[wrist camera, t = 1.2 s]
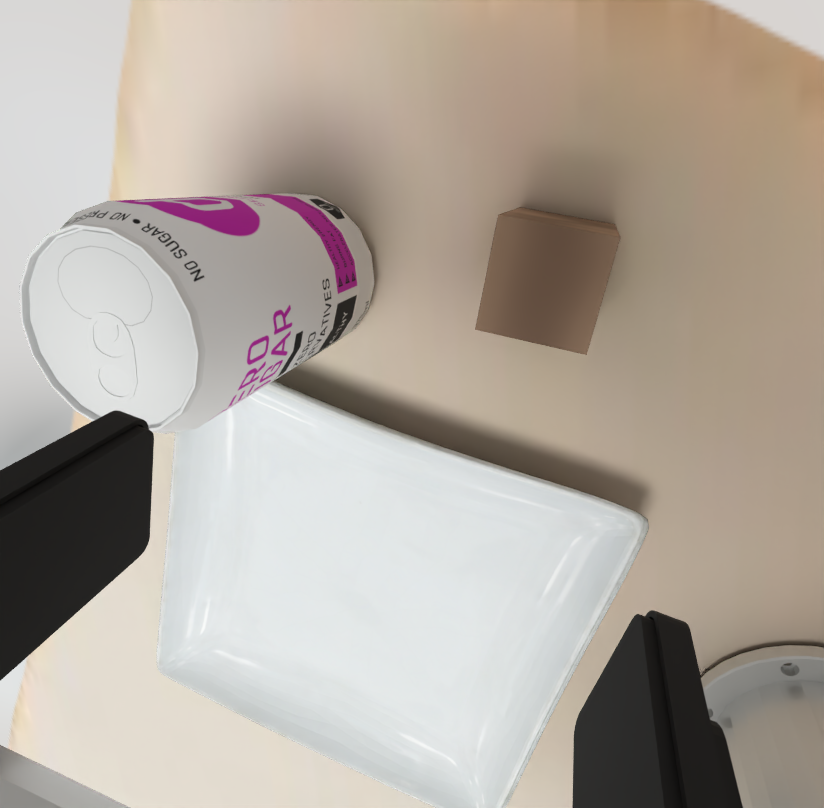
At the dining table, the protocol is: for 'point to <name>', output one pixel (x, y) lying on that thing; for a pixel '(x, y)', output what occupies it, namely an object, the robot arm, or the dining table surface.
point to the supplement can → (190, 301)
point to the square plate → (381, 593)
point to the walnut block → (547, 278)
